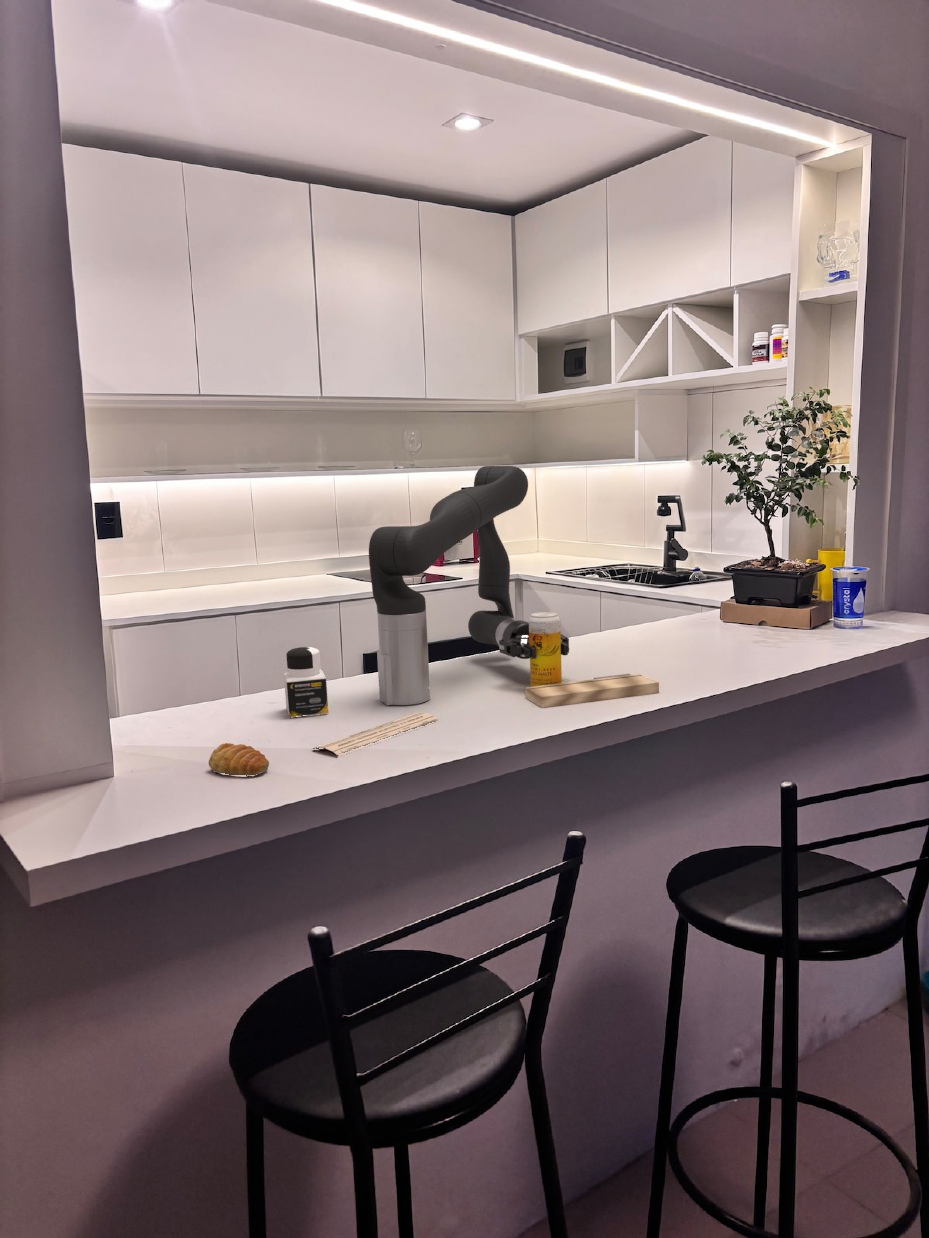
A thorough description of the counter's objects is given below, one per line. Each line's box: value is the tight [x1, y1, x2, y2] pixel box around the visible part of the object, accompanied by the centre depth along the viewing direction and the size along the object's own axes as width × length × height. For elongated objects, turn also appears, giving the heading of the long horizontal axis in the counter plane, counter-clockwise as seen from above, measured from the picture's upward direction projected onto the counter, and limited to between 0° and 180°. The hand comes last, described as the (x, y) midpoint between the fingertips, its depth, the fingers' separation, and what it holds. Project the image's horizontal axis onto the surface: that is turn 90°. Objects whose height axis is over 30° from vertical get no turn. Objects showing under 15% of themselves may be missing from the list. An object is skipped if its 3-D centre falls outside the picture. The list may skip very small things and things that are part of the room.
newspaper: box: [312, 712, 439, 756], centre depth 148 cm, size 24×7×2 cm, turn 140°
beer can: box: [528, 611, 563, 687], centre depth 172 cm, size 6×6×15 cm
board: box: [524, 673, 660, 708], centre depth 168 cm, size 24×8×2 cm, turn 108°
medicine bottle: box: [283, 646, 329, 717], centre depth 164 cm, size 7×7×12 cm
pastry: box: [208, 742, 270, 776], centre depth 132 cm, size 9×7×4 cm
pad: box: [593, 673, 632, 679], centre depth 178 cm, size 8×7×1 cm
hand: (550, 651), depth 170 cm, fingers closed on beer can, 6 cm apart
